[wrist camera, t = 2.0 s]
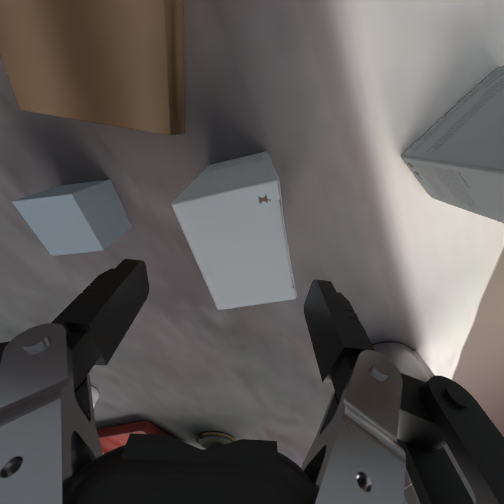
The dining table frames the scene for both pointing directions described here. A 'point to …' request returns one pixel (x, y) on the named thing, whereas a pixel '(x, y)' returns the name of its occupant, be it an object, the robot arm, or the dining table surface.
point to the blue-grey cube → (76, 217)
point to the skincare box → (466, 152)
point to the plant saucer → (124, 434)
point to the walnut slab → (97, 60)
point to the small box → (238, 232)
